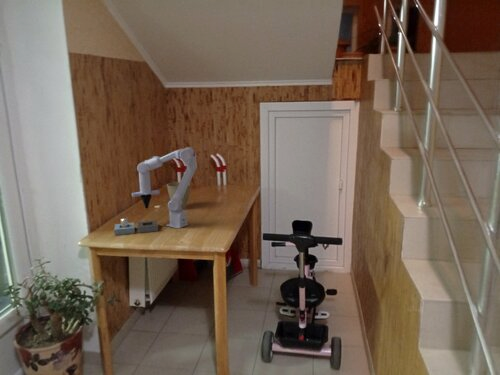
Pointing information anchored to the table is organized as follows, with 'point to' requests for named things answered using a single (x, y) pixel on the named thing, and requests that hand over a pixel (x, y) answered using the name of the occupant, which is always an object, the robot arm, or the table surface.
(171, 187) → the plant pot
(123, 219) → the aluminium peg
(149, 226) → the charcoal stand
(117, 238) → the table surface
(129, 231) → the block
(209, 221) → the table surface
